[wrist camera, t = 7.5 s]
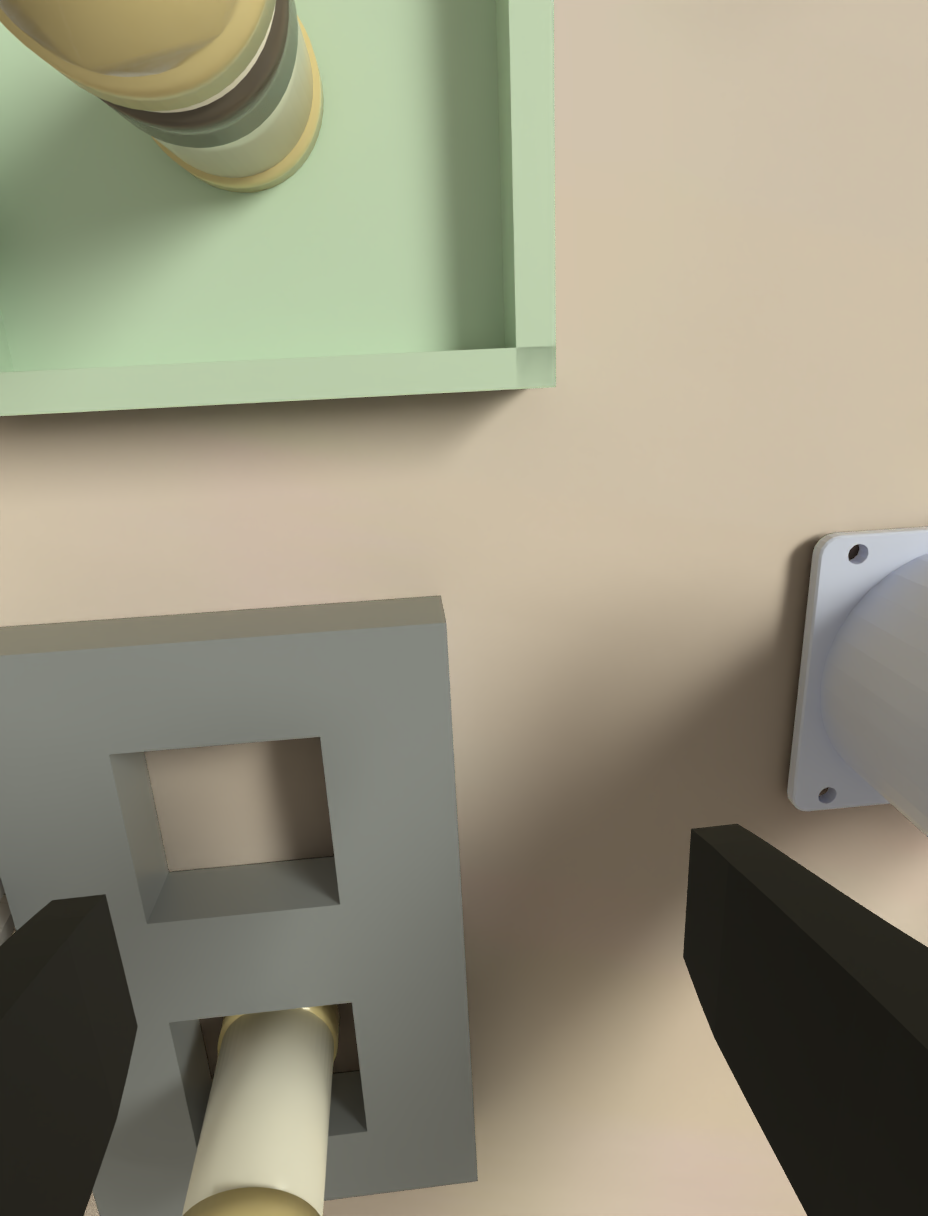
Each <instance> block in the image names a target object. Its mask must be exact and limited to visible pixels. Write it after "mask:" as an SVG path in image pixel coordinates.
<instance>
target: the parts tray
mask: <svg viewBox="0 0 928 1216" xmlns="http://www.w3.org/2000/svg"><path fill="white" fill-rule="evenodd" d="M294 1H295V6H296V11H297V15H298V17H299V19H300V21H301V22H302V24H303V26H304V28H305V30H306V32H307V34H308V37H309V39H310V42H311V45H312V48H313V51H314V54H315V57H316V61H317V64H318V68H319V71H320V76H321V80H322V85H323V96H324V107H323V118H322V125H321V129H320V132H319V136H318V139H317V141H316V144H315V146H314V148H313V150H312V152H311V154H310V156H309V157H308V159H307V160H306V161H305V163H304V164H303V165H302V167H301V168H300V169H299V170H298V171H297V172H296V173H295V174H294V175H293V176H291V177H290V178H289V179H287V180H286V181H284V182H283V183H281V184H279V185H277V186H275V187H273V188H270V189H267V190H264V191H259V192H253V193H237V192H229V191H226V190H222V189H218V188H216V187H213V186H211V185H208V184H206V183H205V182H203V181H201V180H199V179H197V178H196V177H195V176H193V175H192V174H190V173H189V172H188V171H186V170H185V169H184V168H183V167H181V166H180V165H179V164H177V163H176V162H175V161H173V160H172V159H171V158H170V157H169V156H168V155H167V154H166V153H165V152H164V151H163V150H162V149H161V148H160V147H159V146H158V144H157V143H156V142H155V141H154V140H153V138H152V137H151V136H150V135H149V134H147V133H145V132H143V131H142V130H140V129H138V128H137V127H136V126H134V125H133V124H131V123H130V122H129V121H127V120H126V119H125V118H123V117H122V116H121V115H120V114H118V113H117V112H116V111H115V110H113V109H112V108H111V107H110V106H108V105H107V104H106V103H104V102H103V101H102V100H101V99H99V98H98V97H96V96H95V95H93V94H91V93H89V92H87V91H86V90H84V89H82V88H80V87H79V86H77V85H76V84H75V83H73V82H72V81H71V80H69V79H68V78H66V77H65V76H64V75H62V74H61V73H60V72H58V71H57V70H56V69H55V68H53V67H52V66H51V65H49V64H48V63H47V62H46V61H44V60H43V59H42V58H40V57H39V56H38V55H37V54H35V53H34V52H33V51H31V50H30V49H29V48H27V47H26V46H25V45H24V44H23V43H22V42H21V41H19V40H18V39H17V38H16V37H15V36H14V35H13V34H12V33H11V32H10V31H9V30H8V29H7V28H6V27H5V26H4V25H3V24H2V23H1V22H0V416H12V415H31V414H50V413H70V412H89V411H108V410H127V409H146V408H165V407H185V406H204V405H223V404H242V403H261V402H280V401H299V400H319V399H338V398H357V397H376V396H395V395H414V394H434V393H453V392H472V391H491V390H510V389H529V388H549V387H556V310H555V138H554V0H294Z"/></svg>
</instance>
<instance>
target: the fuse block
mask: <svg viewBox="0 0 928 1216" xmlns="http://www.w3.org/2000/svg"><path fill="white" fill-rule="evenodd" d="M312 737H320V741H321V749H322V758H323V766H324V774H325V783H326V791H327V799H328V808H329V816H330V824H331V833H332V841H333V849H334V857H323V858H313V859H303V860H292V861H282V862H271V863H261V864H250V865H240V866H229V867H219V868H208V869H198V870H187V871H177V872H169V871H168V866H167V861H166V856H165V851H164V847H163V842H162V837H161V832H160V827H159V822H158V817H157V813H156V808H155V803H154V798H153V793H152V788H151V783H150V779H149V774H148V769H147V764H146V759H145V754H144V752H145V751H157V750H169V749H181V748H193V747H205V746H217V745H229V744H241V743H253V742H265V741H276V740H288V739H300V738H312ZM0 877H1V881H2V884H3V887H4V891H5V894H6V898H7V901H8V904H9V908H10V911H11V915H12V918H13V922H14V925H15V928H16V931H17V930H18V929H19V928H21V927H22V926H23V925H24V924H25V923H26V922H27V921H28V920H29V919H31V918H32V917H33V916H34V915H35V914H36V913H38V912H39V911H40V910H41V909H42V908H43V907H45V906H46V905H47V904H48V903H49V902H51V901H52V900H58V899H67V898H76V897H85V896H94V895H103V894H106V898H107V902H108V906H109V910H110V914H111V919H112V923H113V927H114V931H115V935H116V939H117V943H118V947H119V951H120V956H121V960H122V964H123V968H124V972H125V976H126V980H127V984H128V988H129V993H130V997H131V1001H132V1005H133V1009H134V1013H135V1017H136V1021H137V1025H138V1028H137V1033H136V1037H135V1042H134V1047H133V1051H132V1056H131V1060H130V1065H129V1070H128V1074H127V1079H126V1083H125V1087H124V1091H123V1095H122V1099H121V1103H120V1108H119V1112H118V1116H117V1120H116V1123H115V1126H114V1129H113V1132H112V1135H111V1138H110V1141H109V1144H108V1147H107V1150H106V1152H105V1155H104V1158H103V1161H102V1164H101V1167H100V1170H99V1173H98V1176H97V1178H96V1181H95V1184H94V1187H93V1190H92V1191H93V1194H94V1198H95V1201H96V1205H97V1208H98V1211H99V1215H100V1216H182V1213H183V1208H184V1204H185V1200H186V1195H187V1191H188V1187H189V1182H190V1178H191V1174H192V1169H193V1165H194V1161H195V1156H196V1152H197V1147H198V1143H199V1139H200V1134H201V1130H202V1126H203V1121H204V1117H205V1113H206V1108H207V1104H208V1100H209V1095H210V1091H211V1087H212V1080H211V1075H210V1070H209V1065H208V1060H207V1055H206V1050H205V1046H204V1041H203V1036H202V1031H201V1026H200V1021H199V1019H205V1018H214V1017H223V1016H233V1015H242V1014H251V1013H260V1012H269V1011H278V1010H287V1009H297V1008H306V1007H315V1006H324V1005H333V1004H342V1003H352V1007H353V1016H354V1024H355V1032H356V1041H357V1049H358V1057H359V1066H360V1071H354V1072H345V1073H336V1074H332V1087H331V1101H330V1116H329V1131H328V1146H327V1161H326V1176H325V1190H324V1201H326V1200H333V1199H341V1198H349V1197H357V1196H365V1195H373V1194H380V1193H388V1192H396V1191H404V1190H412V1189H420V1188H427V1187H435V1186H443V1185H451V1184H459V1183H467V1182H474V1181H478V1177H477V1160H476V1142H475V1124H474V1106H473V1089H472V1071H471V1053H470V1036H469V1018H468V1000H467V982H466V965H465V947H464V929H463V911H462V894H461V876H460V858H459V840H458V823H457V805H456V787H455V769H454V752H453V734H452V716H451V699H450V681H449V663H448V645H447V628H446V619H445V614H444V609H443V605H442V600H441V596H430V597H416V598H402V599H388V600H374V601H360V602H346V603H332V604H318V605H304V606H290V607H276V608H262V609H248V610H234V611H220V612H206V613H192V614H178V615H164V616H150V617H136V618H122V619H108V620H94V621H80V622H66V623H52V624H38V625H24V626H10V627H0Z"/></svg>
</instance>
